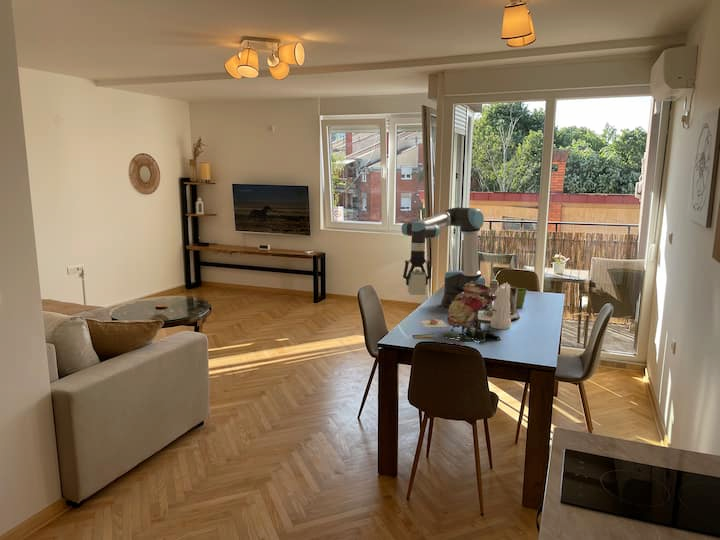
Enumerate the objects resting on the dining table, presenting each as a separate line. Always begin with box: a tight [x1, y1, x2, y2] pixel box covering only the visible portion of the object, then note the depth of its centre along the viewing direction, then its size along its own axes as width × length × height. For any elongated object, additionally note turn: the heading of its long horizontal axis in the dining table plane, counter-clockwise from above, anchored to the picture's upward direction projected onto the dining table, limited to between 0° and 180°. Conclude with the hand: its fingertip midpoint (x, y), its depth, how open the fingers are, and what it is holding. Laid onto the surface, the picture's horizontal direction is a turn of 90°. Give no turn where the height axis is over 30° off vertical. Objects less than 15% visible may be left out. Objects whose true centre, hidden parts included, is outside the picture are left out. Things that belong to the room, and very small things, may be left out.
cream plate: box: [420, 317, 449, 328], centre depth 298 cm, size 13×13×3 cm
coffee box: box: [510, 285, 518, 314], centre depth 327 cm, size 9×6×16 cm
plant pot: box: [516, 288, 528, 309], centre depth 341 cm, size 12×12×11 cm
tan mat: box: [412, 334, 436, 340], centre depth 282 cm, size 16×11×1 cm
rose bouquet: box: [442, 281, 501, 344], centre depth 275 cm, size 26×29×30 cm
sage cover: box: [407, 268, 427, 296], centre depth 290 cm, size 8×8×13 cm
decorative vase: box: [490, 282, 512, 330], centre depth 295 cm, size 11×11×25 cm
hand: (416, 290), depth 291 cm, fingers closed on sage cover, 8 cm apart
